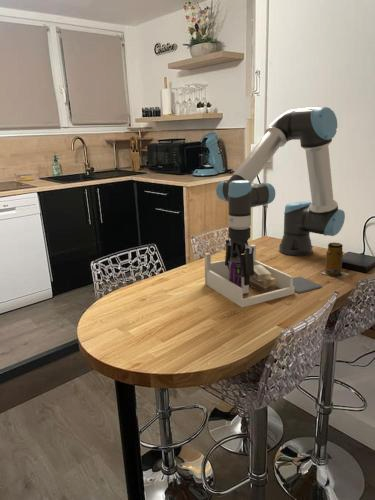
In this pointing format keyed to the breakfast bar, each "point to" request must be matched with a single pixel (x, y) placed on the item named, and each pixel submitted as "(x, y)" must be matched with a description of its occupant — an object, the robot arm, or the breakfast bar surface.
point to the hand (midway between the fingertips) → (238, 289)
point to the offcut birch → (261, 273)
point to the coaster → (304, 285)
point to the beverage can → (235, 271)
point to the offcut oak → (263, 282)
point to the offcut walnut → (262, 287)
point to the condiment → (334, 261)
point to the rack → (219, 282)
